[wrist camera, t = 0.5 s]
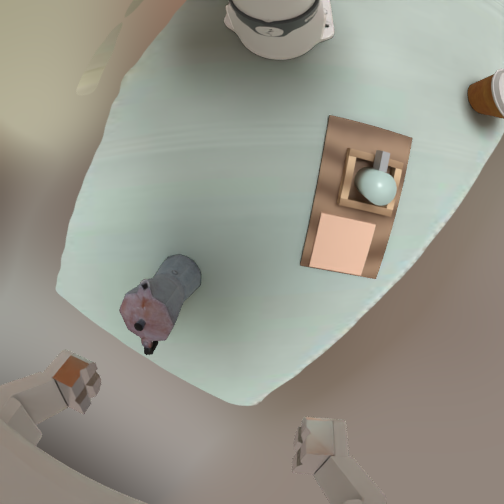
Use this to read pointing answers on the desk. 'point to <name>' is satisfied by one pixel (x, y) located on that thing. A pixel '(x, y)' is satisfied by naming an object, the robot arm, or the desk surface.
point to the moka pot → (160, 300)
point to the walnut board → (343, 186)
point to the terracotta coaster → (341, 244)
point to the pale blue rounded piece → (377, 181)
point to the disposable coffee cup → (488, 95)
